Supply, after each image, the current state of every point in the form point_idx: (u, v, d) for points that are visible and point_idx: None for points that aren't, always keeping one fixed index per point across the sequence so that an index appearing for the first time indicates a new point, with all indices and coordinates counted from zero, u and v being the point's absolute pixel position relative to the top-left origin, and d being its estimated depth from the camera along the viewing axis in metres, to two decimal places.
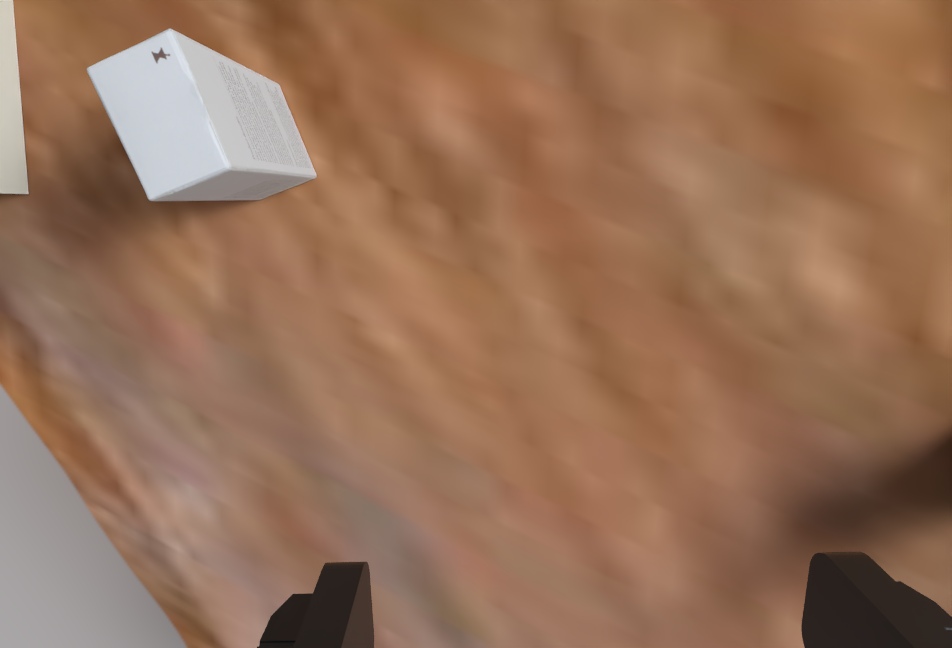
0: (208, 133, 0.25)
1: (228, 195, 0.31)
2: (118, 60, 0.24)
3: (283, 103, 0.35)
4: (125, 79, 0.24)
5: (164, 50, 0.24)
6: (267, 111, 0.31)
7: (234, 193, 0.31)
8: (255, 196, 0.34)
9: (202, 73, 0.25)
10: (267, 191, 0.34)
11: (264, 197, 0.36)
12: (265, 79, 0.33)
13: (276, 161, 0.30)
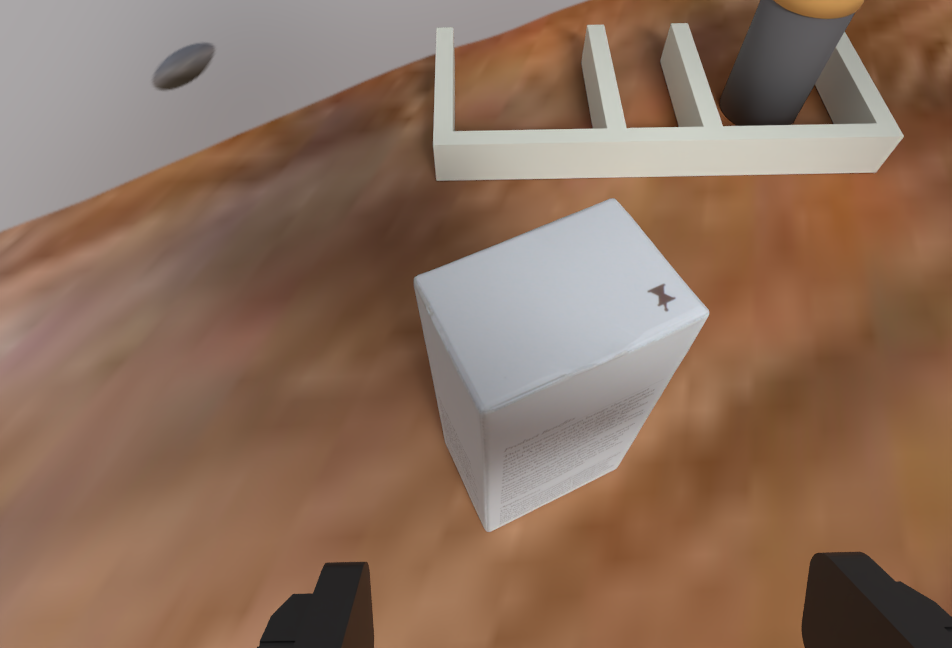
0: (543, 374, 0.13)
1: (442, 402, 0.19)
2: (637, 238, 0.15)
3: (591, 477, 0.23)
4: (610, 246, 0.15)
5: (671, 302, 0.14)
6: (581, 459, 0.19)
7: (446, 411, 0.19)
8: (448, 439, 0.22)
9: (641, 363, 0.14)
10: (456, 458, 0.21)
11: (449, 450, 0.24)
12: (624, 452, 0.22)
13: (505, 481, 0.17)
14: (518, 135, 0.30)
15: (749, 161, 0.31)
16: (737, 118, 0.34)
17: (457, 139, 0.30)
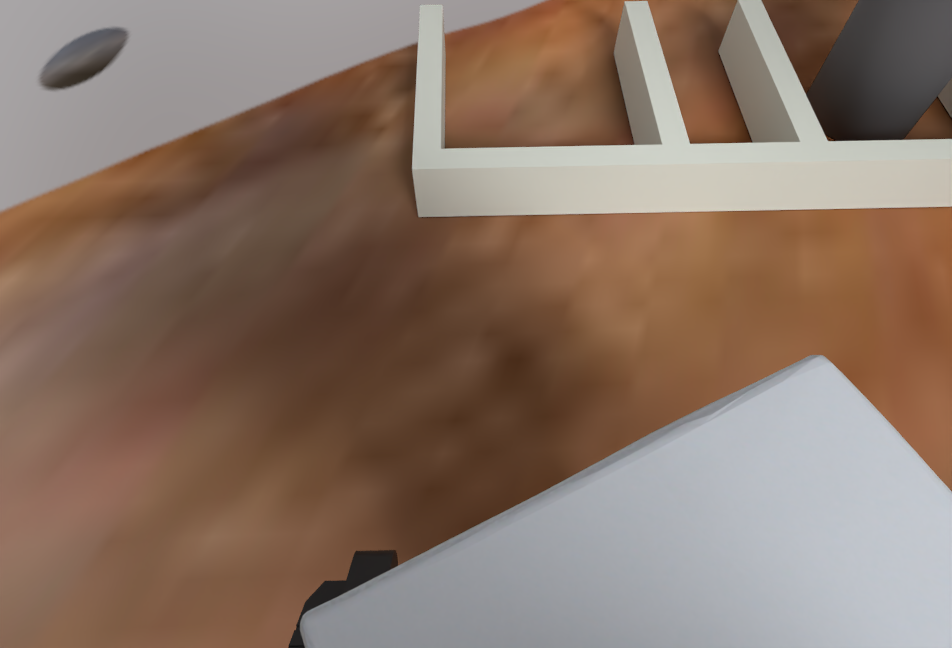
0: None
1: None
2: (916, 485, 0.05)
3: None
4: (850, 516, 0.05)
5: None
6: None
7: None
8: None
9: None
10: None
11: None
12: None
13: None
14: (535, 154, 0.21)
15: (861, 190, 0.22)
16: (832, 128, 0.25)
17: (448, 160, 0.21)
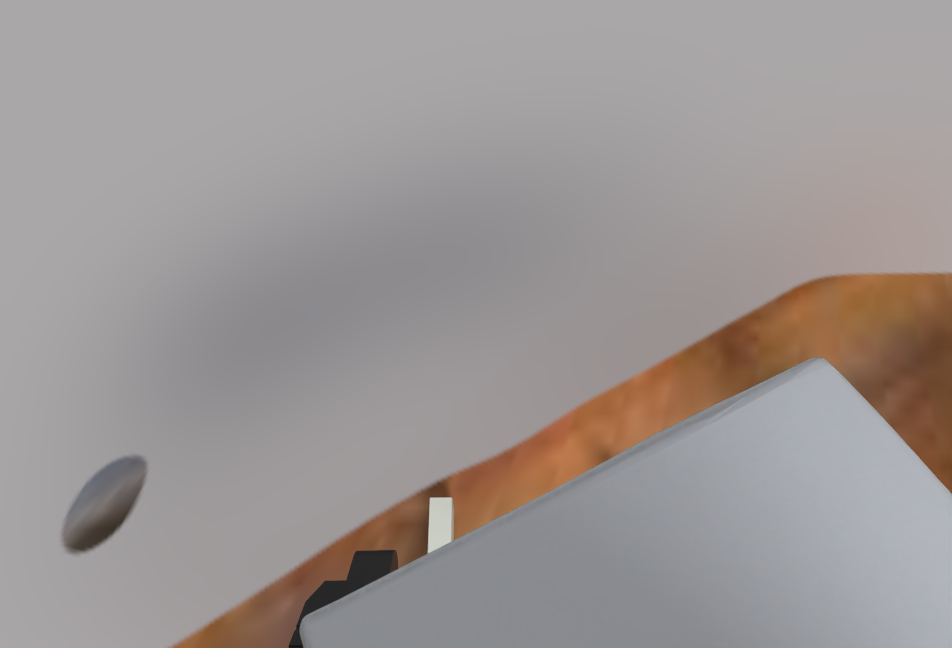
0: None
1: None
2: (917, 488, 0.05)
3: None
4: (851, 520, 0.05)
5: None
6: None
7: None
8: None
9: None
10: None
11: None
12: None
13: None
14: None
15: None
16: None
17: None
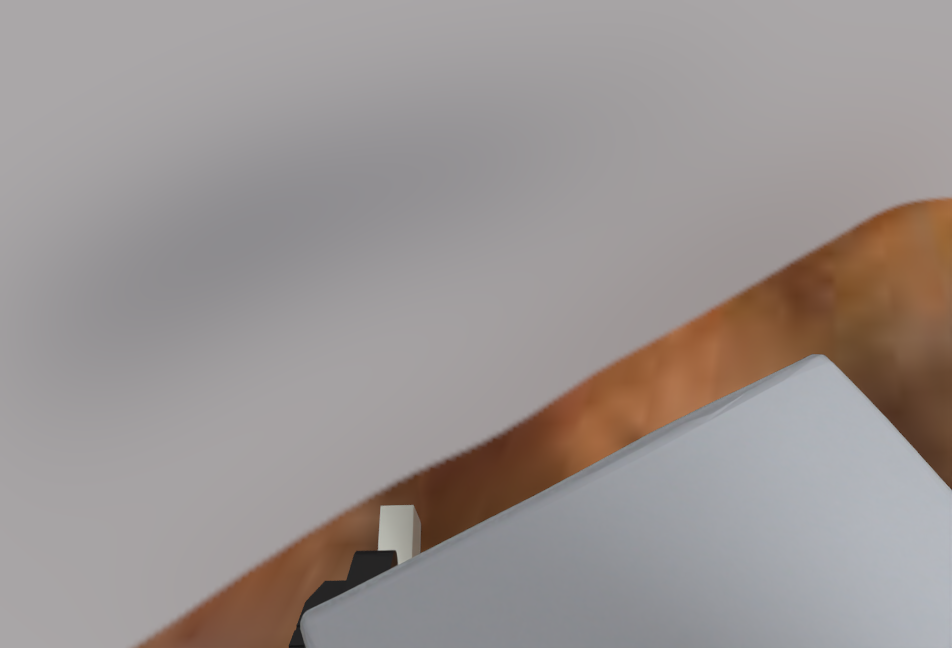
0: None
1: None
2: (916, 484, 0.05)
3: None
4: (851, 515, 0.05)
5: None
6: None
7: None
8: None
9: None
10: None
11: None
12: None
13: None
14: None
15: None
16: None
17: None
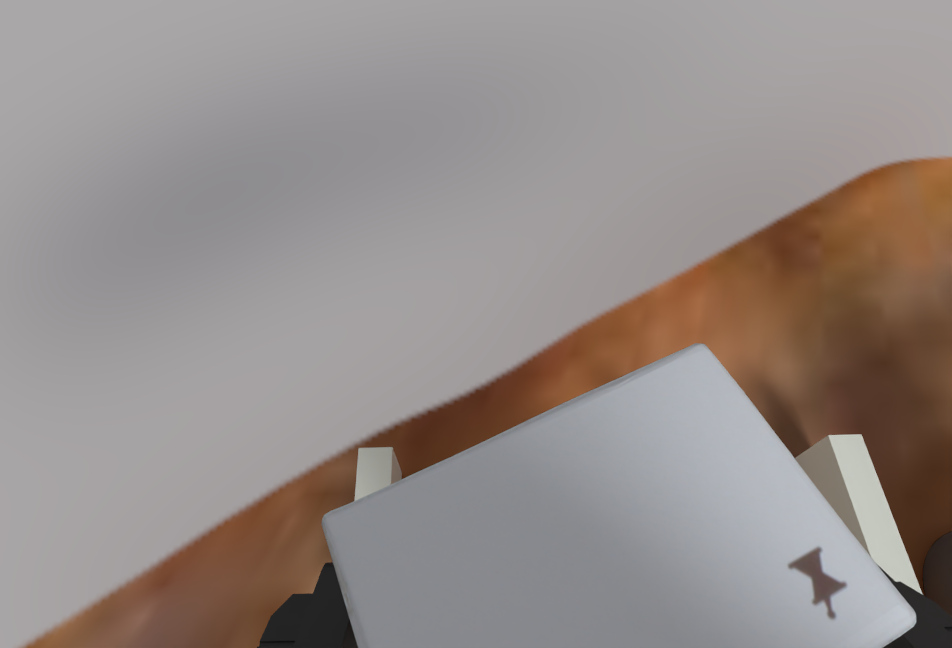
0: None
1: None
2: (755, 434, 0.08)
3: None
4: (707, 454, 0.08)
5: (839, 595, 0.07)
6: None
7: None
8: None
9: None
10: None
11: None
12: None
13: None
14: None
15: None
16: None
17: None
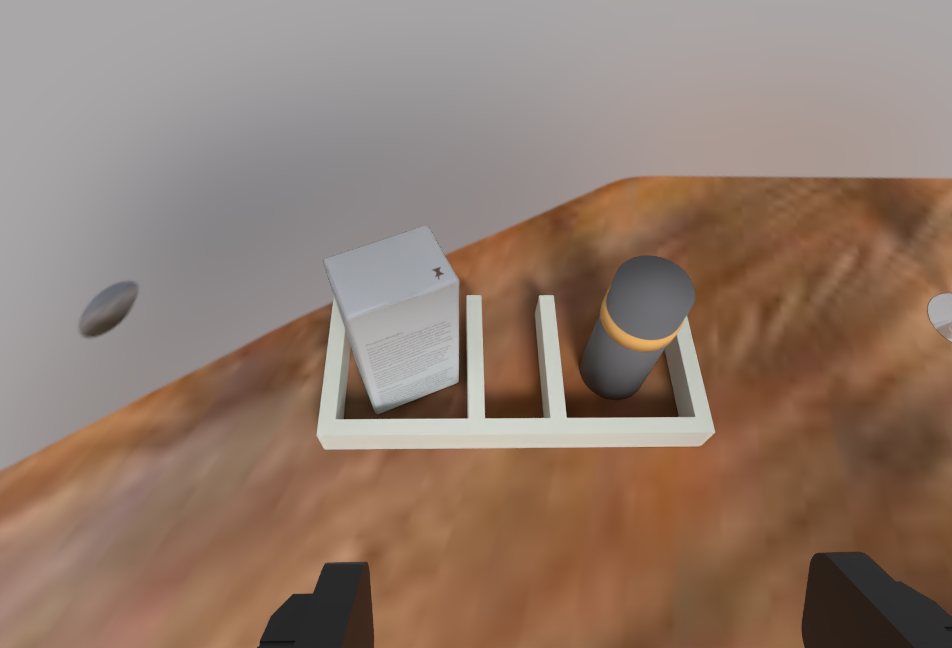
0: (376, 304, 0.28)
1: None
2: (433, 245, 0.30)
3: (440, 384, 0.38)
4: (419, 248, 0.30)
5: (441, 275, 0.30)
6: (423, 365, 0.35)
7: (347, 335, 0.34)
8: None
9: (430, 304, 0.30)
10: (358, 368, 0.37)
11: None
12: (456, 368, 0.37)
13: (374, 369, 0.33)
14: (392, 424, 0.35)
15: (591, 442, 0.37)
16: (590, 386, 0.39)
17: (338, 428, 0.35)
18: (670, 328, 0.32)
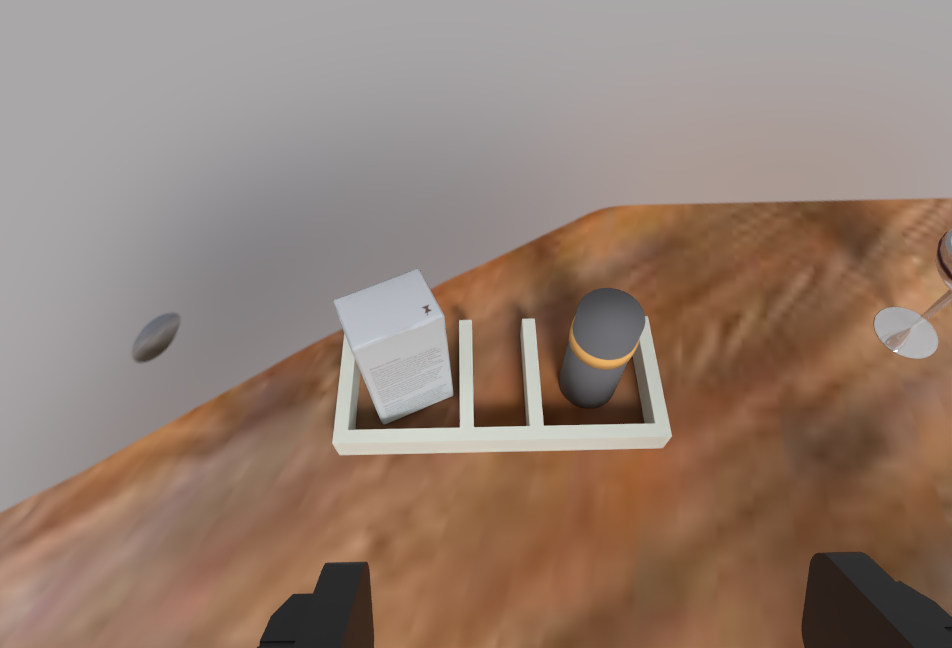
0: (376, 337, 0.35)
1: None
2: (423, 286, 0.37)
3: (436, 398, 0.45)
4: (411, 289, 0.37)
5: (429, 311, 0.36)
6: (420, 383, 0.42)
7: None
8: None
9: (421, 335, 0.36)
10: None
11: None
12: (449, 384, 0.44)
13: (378, 388, 0.40)
14: (395, 433, 0.42)
15: (566, 445, 0.43)
16: (567, 397, 0.46)
17: (350, 437, 0.42)
18: (624, 350, 0.38)
